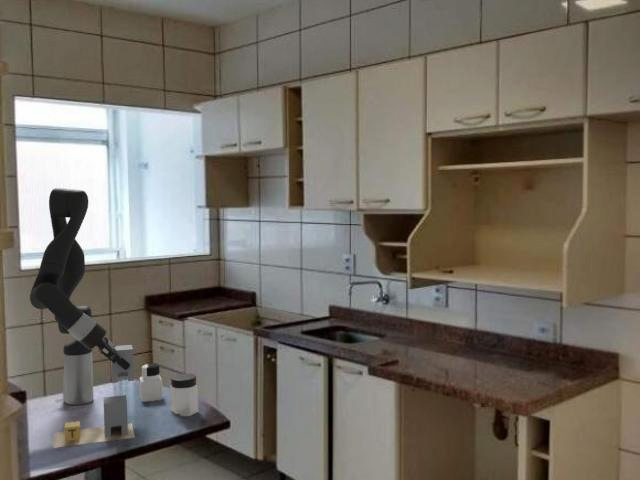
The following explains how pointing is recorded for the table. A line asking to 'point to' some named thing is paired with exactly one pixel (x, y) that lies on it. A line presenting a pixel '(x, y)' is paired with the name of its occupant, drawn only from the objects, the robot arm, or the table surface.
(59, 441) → the birch board
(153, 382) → the medicine bottle
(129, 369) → the cube cover
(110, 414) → the empty cover
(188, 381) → the jar
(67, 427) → the letter cube
